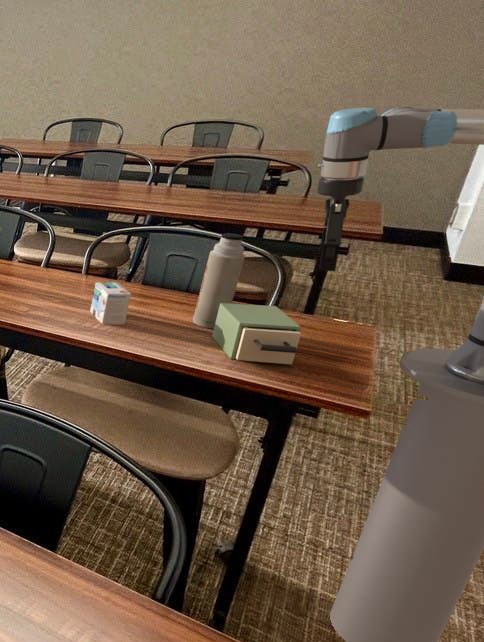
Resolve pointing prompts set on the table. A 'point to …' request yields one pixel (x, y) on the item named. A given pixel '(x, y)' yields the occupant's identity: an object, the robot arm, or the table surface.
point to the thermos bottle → (219, 279)
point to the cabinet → (246, 323)
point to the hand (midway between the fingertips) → (326, 261)
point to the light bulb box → (110, 303)
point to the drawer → (267, 345)
